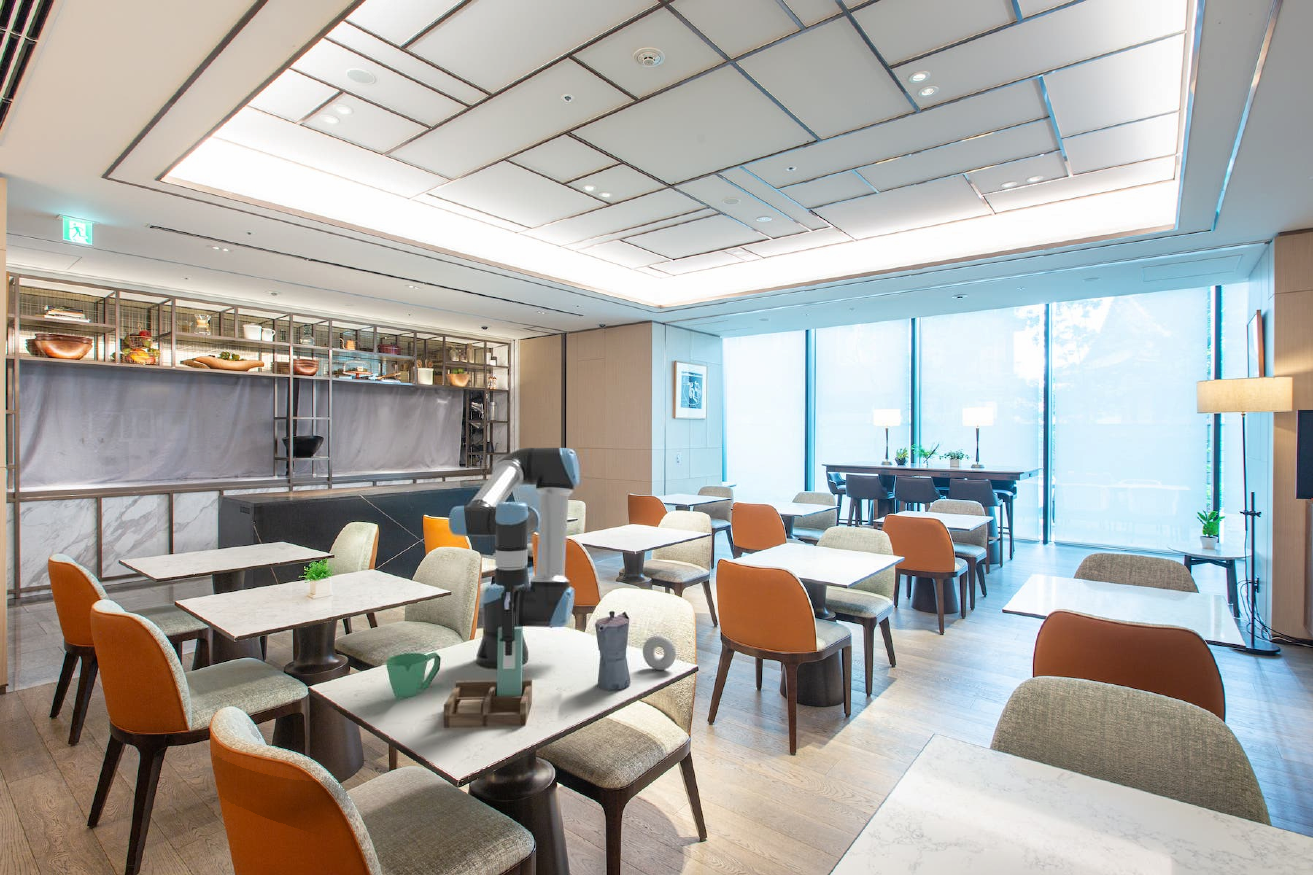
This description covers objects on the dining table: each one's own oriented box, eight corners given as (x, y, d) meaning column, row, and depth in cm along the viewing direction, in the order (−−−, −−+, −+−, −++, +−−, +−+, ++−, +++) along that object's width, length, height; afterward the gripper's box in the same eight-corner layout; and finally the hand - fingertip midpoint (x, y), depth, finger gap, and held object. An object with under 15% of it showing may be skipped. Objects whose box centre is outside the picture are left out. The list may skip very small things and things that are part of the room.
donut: (677, 669, 185) (677, 635, 186) (673, 673, 182) (674, 638, 182) (644, 665, 189) (645, 631, 189) (640, 669, 185) (641, 634, 186)
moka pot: (584, 691, 169) (585, 614, 169) (610, 672, 183) (611, 601, 183) (617, 696, 165) (618, 618, 165) (641, 676, 179) (641, 605, 180)
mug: (401, 709, 156) (402, 668, 156) (377, 700, 161) (378, 660, 162) (450, 690, 168) (451, 652, 168) (427, 682, 174) (427, 645, 174)
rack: (456, 711, 155) (456, 680, 155) (531, 710, 156) (532, 679, 156) (443, 734, 143) (444, 700, 143) (525, 732, 144) (525, 698, 144)
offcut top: (460, 708, 148) (460, 699, 148) (483, 708, 149) (483, 699, 149) (457, 714, 145) (457, 705, 145) (480, 713, 145) (481, 704, 146)
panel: (498, 694, 153) (499, 626, 154) (521, 693, 154) (522, 626, 154) (497, 697, 151) (497, 629, 152) (520, 696, 152) (521, 628, 152)
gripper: (500, 561, 160) (499, 656, 160) (489, 573, 145) (487, 677, 145) (530, 561, 161) (529, 655, 160) (522, 572, 146) (521, 677, 145)
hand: (509, 665), depth 153 cm, fingers closed on panel, 2 cm apart
